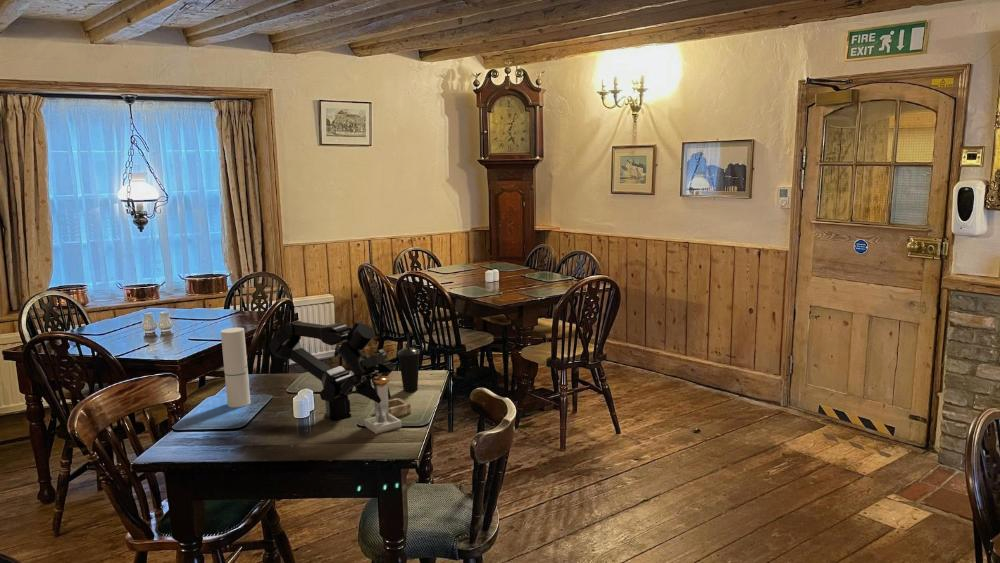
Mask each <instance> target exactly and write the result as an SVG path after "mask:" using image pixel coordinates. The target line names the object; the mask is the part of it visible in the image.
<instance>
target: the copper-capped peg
mask: <svg viewBox="0 0 1000 563" xmlns="http://www.w3.org/2000/svg"><path fill="white" fill-rule="evenodd" d="M389 383H390V377H389V376H388V377H387V376H377V377H373V378H372V379H371V384H372V385H373V384H374V386H373V389H374V390H375V392H376V393H377V395H378V396H379V398H380V400H381V402H380V403H377V402H375V401H374V413H375V414H374V417H375V418H376V422H377V423H386V422H388V421H389V403H388V400H389V399H388V388H389V385H388V384H389Z"/></svg>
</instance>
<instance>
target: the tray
mask: <svg viewBox="0 0 1000 563" xmlns="http://www.w3.org/2000/svg"><path fill="white" fill-rule="evenodd" d="M363 426H364V427H365V428H367V429H369V430H370V431H372V432H373V433H375V434H376V435H379V434H381V433H386V432H389V431H393V430H396V429H401V428H402V427H403V426H402V420H401V419H400V418H398V417H394V416H392V415H391V414H389V421H388V422H386V423H377V422H376V418H375V416H372V417H368V418H365V419H363Z"/></svg>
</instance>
